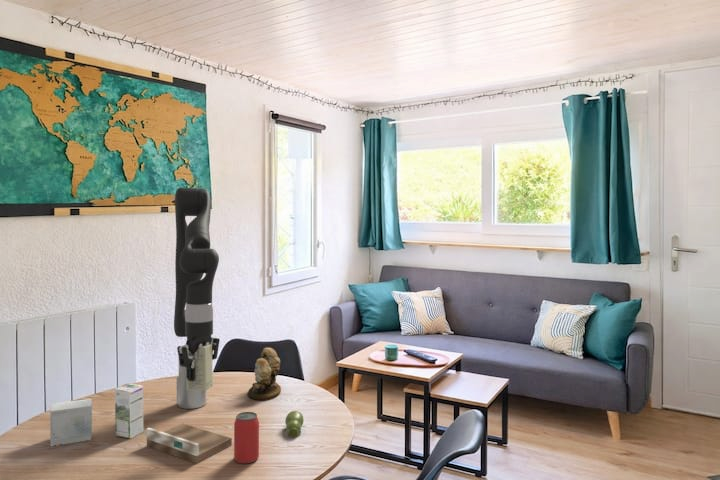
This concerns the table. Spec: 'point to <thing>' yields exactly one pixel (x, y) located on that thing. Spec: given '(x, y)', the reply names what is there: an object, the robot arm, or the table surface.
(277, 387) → the brown lumpy upright piece
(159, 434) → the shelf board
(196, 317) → the robot arm
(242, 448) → the beer can
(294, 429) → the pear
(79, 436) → the skincare box
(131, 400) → the syrup box
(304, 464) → the table surface
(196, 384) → the skincare box
